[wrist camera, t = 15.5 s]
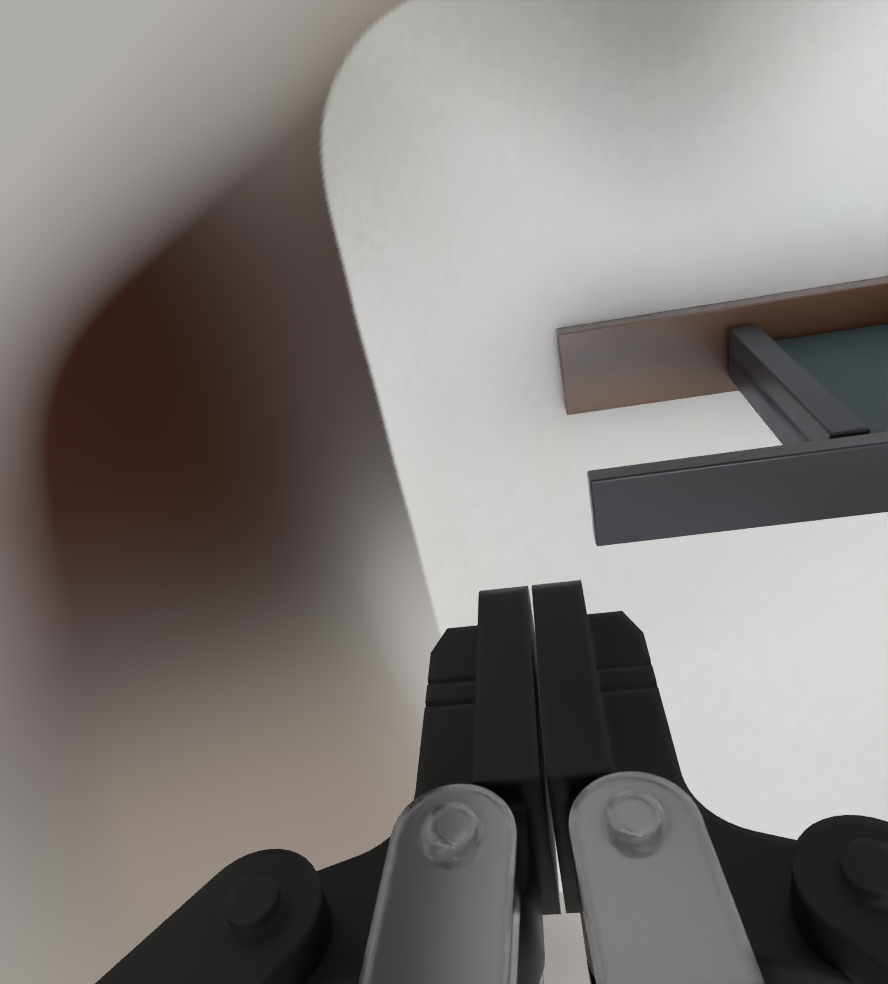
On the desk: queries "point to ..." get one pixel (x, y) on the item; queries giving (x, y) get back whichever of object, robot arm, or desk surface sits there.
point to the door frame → (705, 370)
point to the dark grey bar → (814, 381)
